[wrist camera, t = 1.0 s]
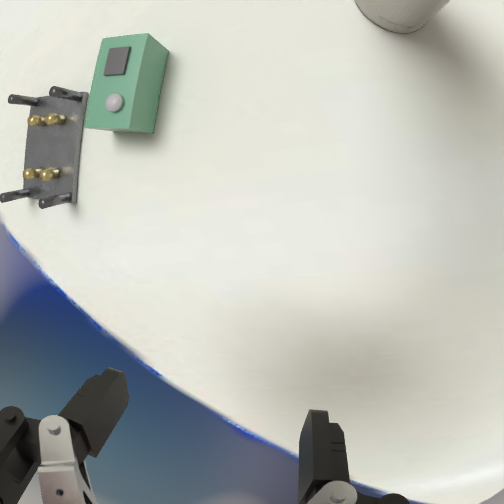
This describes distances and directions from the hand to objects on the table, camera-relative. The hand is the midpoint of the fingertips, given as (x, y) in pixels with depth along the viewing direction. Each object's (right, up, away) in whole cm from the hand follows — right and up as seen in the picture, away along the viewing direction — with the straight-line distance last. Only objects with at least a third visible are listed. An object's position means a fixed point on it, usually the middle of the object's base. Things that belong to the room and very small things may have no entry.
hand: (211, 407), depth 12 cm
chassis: (-24, +20, +21) cm, 38 cm away
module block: (-11, +25, +19) cm, 33 cm away
